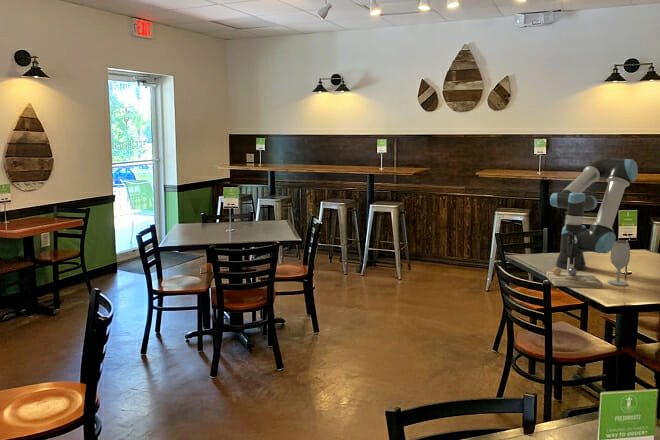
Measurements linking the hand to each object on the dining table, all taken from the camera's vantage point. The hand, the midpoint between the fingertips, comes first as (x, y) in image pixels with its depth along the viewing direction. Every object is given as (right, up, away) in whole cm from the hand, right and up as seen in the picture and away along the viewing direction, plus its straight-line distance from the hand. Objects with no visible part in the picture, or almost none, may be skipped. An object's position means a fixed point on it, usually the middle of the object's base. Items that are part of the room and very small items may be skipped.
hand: (570, 269), depth 292 cm
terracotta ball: (-7, 0, -2) cm, 8 cm away
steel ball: (0, -1, -3) cm, 3 cm away
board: (-1, -6, -5) cm, 8 cm away
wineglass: (+20, -6, -7) cm, 22 cm away
